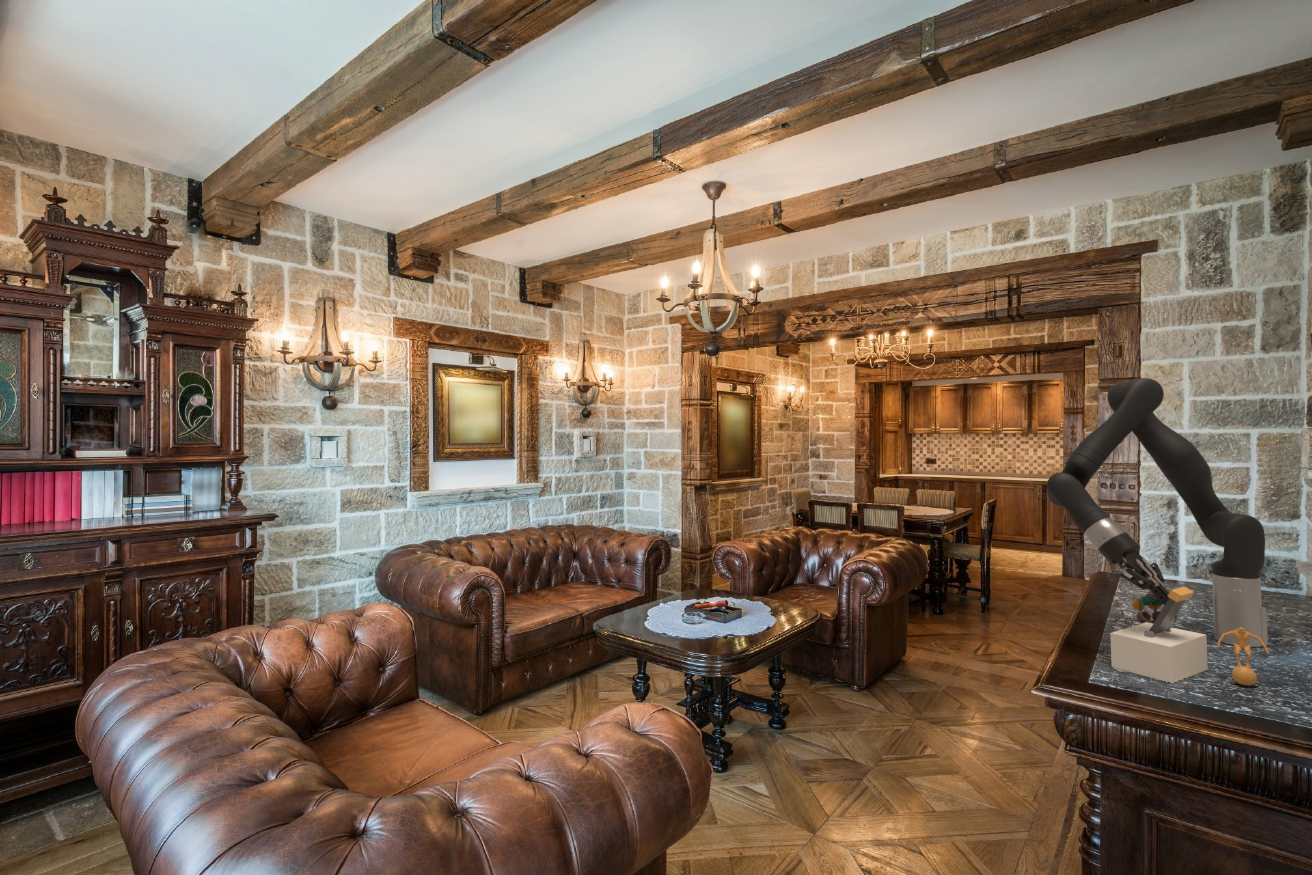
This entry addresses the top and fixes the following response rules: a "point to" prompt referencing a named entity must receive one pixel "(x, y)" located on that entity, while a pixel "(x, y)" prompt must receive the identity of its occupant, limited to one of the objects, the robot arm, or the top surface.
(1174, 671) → the breaker housing
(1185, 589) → the handle
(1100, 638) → the top surface
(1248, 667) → the figurine
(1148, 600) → the binoculars
